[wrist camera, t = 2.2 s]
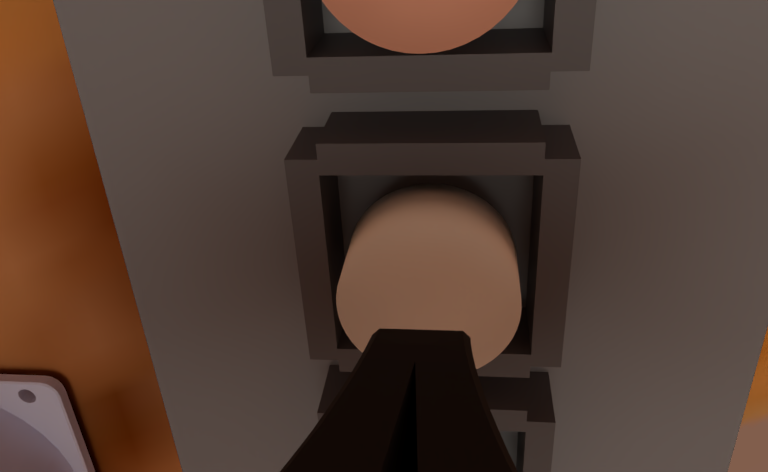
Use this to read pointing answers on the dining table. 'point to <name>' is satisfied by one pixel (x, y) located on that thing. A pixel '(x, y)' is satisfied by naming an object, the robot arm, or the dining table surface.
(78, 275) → the dining table surface
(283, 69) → the control panel
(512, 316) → the button cream
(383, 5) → the button terracotta
